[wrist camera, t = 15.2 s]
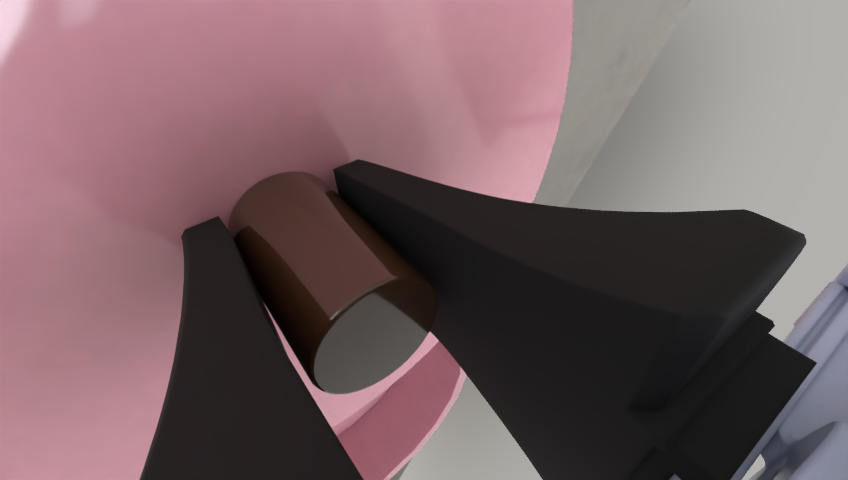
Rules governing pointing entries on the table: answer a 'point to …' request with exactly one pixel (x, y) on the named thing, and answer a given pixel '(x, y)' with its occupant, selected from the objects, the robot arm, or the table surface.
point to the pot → (402, 416)
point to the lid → (236, 189)
